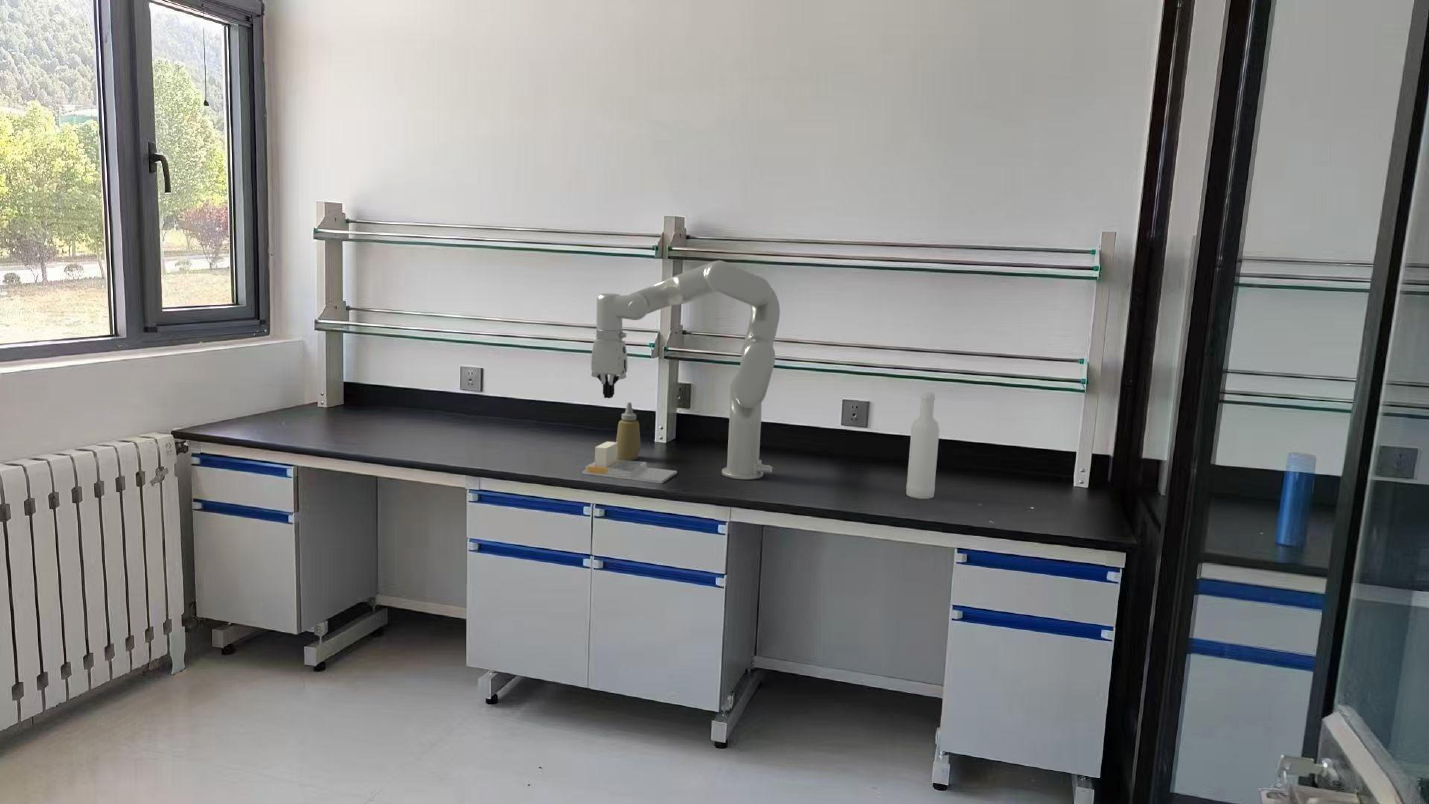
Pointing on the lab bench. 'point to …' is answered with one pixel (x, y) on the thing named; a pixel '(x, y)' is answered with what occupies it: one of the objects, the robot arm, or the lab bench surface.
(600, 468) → the grey framed tray board
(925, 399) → the bottle
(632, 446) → the squeeze bottle
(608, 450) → the tall ivory prism
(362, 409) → the lab bench surface
